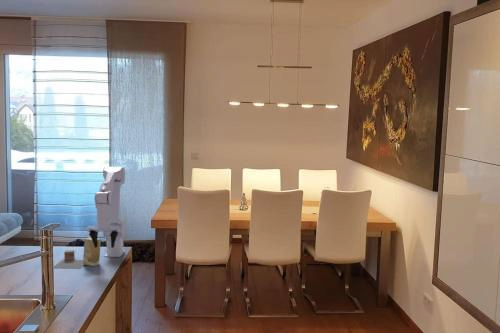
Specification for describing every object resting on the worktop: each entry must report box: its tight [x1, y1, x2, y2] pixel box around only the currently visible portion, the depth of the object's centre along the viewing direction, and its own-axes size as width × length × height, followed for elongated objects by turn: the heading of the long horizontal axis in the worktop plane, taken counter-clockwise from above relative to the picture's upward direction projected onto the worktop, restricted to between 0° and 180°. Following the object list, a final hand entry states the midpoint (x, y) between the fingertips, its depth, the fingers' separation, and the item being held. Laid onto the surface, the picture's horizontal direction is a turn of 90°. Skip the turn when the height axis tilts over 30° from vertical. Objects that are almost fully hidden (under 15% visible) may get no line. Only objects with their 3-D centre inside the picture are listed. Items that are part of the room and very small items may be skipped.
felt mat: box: [53, 259, 85, 270], centre depth 223 cm, size 12×13×1 cm
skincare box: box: [82, 236, 102, 267], centre depth 222 cm, size 6×4×12 cm
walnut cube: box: [63, 249, 75, 261], centre depth 230 cm, size 4×4×4 cm
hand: (104, 247), depth 217 cm, fingers open, 7 cm apart
